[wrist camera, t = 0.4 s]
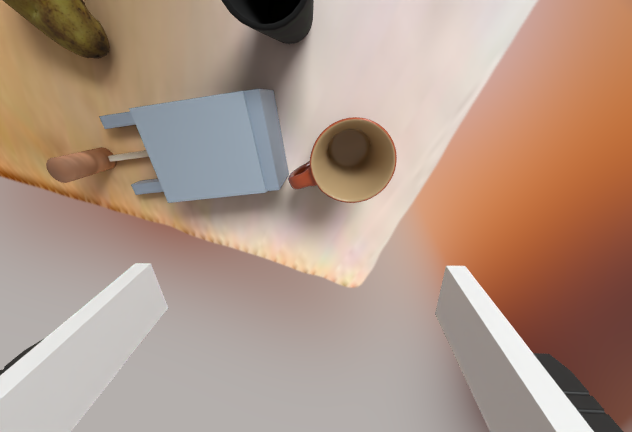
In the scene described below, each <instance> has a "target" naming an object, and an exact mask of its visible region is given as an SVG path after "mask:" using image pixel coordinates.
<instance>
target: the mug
mask: <svg viewBox="0 0 632 432" xmlns="http://www.w3.org/2000/svg"><path fill="white" fill-rule="evenodd" d="M395 167H396V149H395V146H394V143H393V140H392V138H391V137H390V135H389V134H388V132H387V131H386V130H385V129H384V128H383V127H381V126H380V125H379V124H377V123H375V122H374V121H371V120H368V119H365V118H356V117H355V118H346V119H342V120H340V121H337V122H335V123H333V124H332V125H330V126H329V127H327V128H326V129H325V130H324V131H323V132H322V133H321V134H320V135H319V137H318V138H317V140H316V142H315V144H314V146H313V149H312V152H311V157H310V161H309V162H307V163H306V164H304V165H302V166H300V167H299V168H297V169H296V170H294V171H293V172H292V173H291V174H290V176H289V178H288V180H289V183H290V185H291V187H292V188H293V189H301V188H304V187H308V186H316V185H317V186H318V187H319V189H320V190H321V191H322V192H323V193H324V194H326V195H327V196H329V197H331V198H333V199H335V200H338V201H341V202H347V203H356V202H362V201H365V200H368V199H370V198H372V197H374V196H376V195H377V194H378V193H380V192H381V191H382V190H383V189H384V188H385V187H386V186H387V184H388V183H389V182H390V180H391V178H392V176H393V174H394V171H395Z"/></svg>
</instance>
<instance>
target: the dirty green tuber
mask: <svg viewBox="0 0 632 432" xmlns="http://www.w3.org/2000/svg"><path fill="white" fill-rule="evenodd" d="M3 1H4V2H5V3H7V4H8V5H9V6H10V7H12V8H13V9H14V10H15V11H17V12H18V13H19V14H21V15H22V16H23V17H24V18H26V19H27V20H28V21H30V22H31V23H32V24H33V25H34V26H36V27H37V28H38V29H39V30H41V31H42V32H43V33H44V34H46V35H47V36H48V37H50V38H51V39H52V40H54V41H55V42H57V43H58V44H60V45H61V46H63V47H64V48H66V49H68V50H70V51H72V52H74V53H76V54H78V55H81V56H83V57H87V58H101V57H103V56H105V55H107V53H108V52H109V43H108V39H107V36H106V34H105V31H104V29H103V27H102V26H101V24H100V23H99V21H97V20H96V19H95V18H94V17H93V16H92V15H91V14H90V13H89V11H88V10H87V8H86V6H85V3H84V2H83V0H3Z"/></svg>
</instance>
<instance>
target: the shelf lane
mask: <svg viewBox="0 0 632 432" xmlns="http://www.w3.org/2000/svg"><path fill="white" fill-rule="evenodd" d="M129 110H130V112H125V113H118V114H112V115H105V116H99V117H100V119H101V122H102V124H103V126H104V128H105V129H108V128H116V127H123V126H129V125H136V126H137V129H138V131H139V134H140V136H141V139H142V141H143V143H144V146H145V148H146V151H147V153H148V155H149V158H150V160H151V163H152V165H153V167H154V170H155V172H156V175H157V177H158V179H151V180H143V181H139V182H136V183H134V184H132V185H131V186H132V188H133V190H134V192H135V194H136V195H138V194H147V193H156V192H164V194H165V196H166V199H167V201H168V203H171V202H181V201H190V200H200V199H209V198H219V197H228V196H238V195H247V194H257V193H266V192H267V191H273V190H280V188H281V186H282V185H283V183H284V181H285V180H286V178H287V176H288V175H289V172H288V167H287V161H286V156H285V150H284V145H283V139H282V134H281V128H280V123H279V117H278V112H277V106H276V101H275V95H274V90H266V89H253V90H247V91H238V92H232V93H225V94H219V95H213V96H206V97H200V98H193V99H187V100H181V101H174V102H168V103H161V104H155V105H149V106H142V107H136V108H129Z"/></svg>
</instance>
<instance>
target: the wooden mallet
mask: <svg viewBox="0 0 632 432" xmlns="http://www.w3.org/2000/svg"><path fill="white" fill-rule="evenodd" d="M142 157H149V155H148V153H147V151H139V152H132V153H124V154H117V155H113V154H112V152H110V151H109V150H108V149H106V148H97V149H92V150H87V151H82V152H78V153H73V154H68V155H64V156H59V157H54V158H50V159H49V160H48V161H47V163H46V166H47V170H48V172H49V173H50V175H51V176H52V177H53V178H55V179H56V180H58V181H60V182H63V183H67V182H70V181H74V180H77V179H80V178H83V177H86V176H89V175H92V174H96V173H99V172H102V171H105V170H108V169H111V168H114V167H115V165H116V161H119V160H127V159H135V158H142Z"/></svg>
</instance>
